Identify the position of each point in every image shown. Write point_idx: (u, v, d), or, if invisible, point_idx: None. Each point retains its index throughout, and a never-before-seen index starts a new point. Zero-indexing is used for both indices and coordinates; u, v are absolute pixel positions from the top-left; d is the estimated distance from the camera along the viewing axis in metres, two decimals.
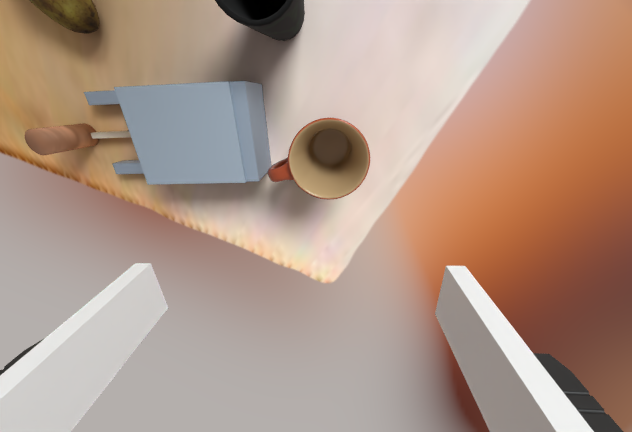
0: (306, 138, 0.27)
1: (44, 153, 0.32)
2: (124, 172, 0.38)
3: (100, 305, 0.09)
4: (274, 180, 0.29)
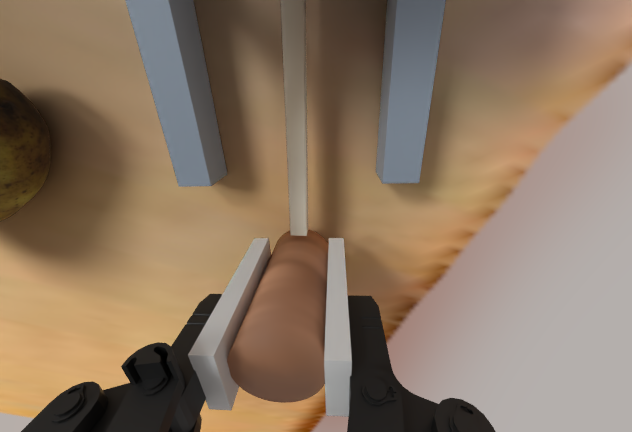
0: None
1: (320, 371, 0.08)
2: (418, 150, 0.10)
3: (251, 268, 0.11)
4: None
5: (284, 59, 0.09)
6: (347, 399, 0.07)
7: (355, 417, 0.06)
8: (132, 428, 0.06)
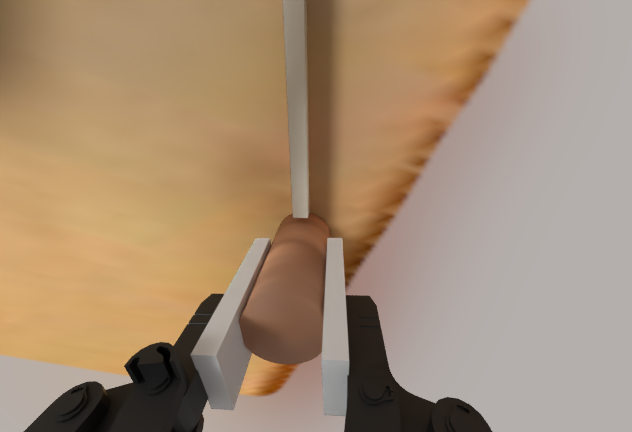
0: None
1: (321, 335, 0.09)
2: None
3: (252, 268, 0.11)
4: None
5: (286, 48, 0.10)
6: (345, 399, 0.07)
7: (352, 416, 0.06)
8: (135, 428, 0.06)
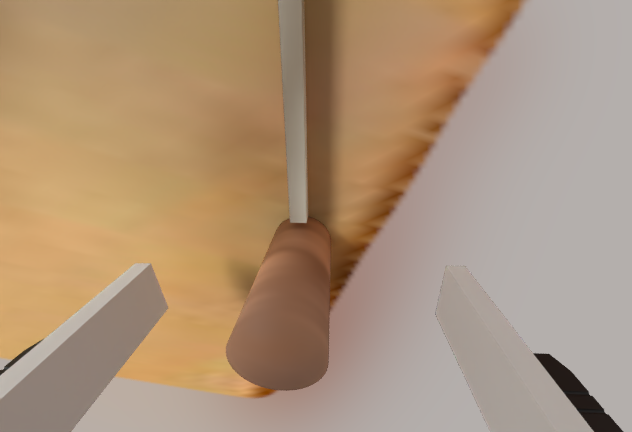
0: None
1: (321, 359, 0.08)
2: None
3: (100, 305, 0.09)
4: None
5: (281, 33, 0.09)
6: None
7: None
8: None
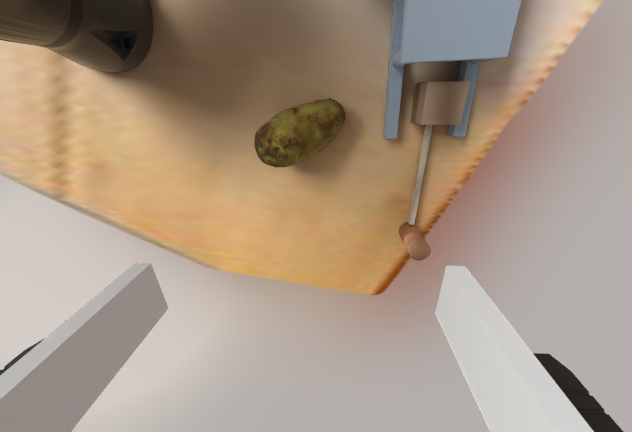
0: None
1: (429, 251, 0.38)
2: (465, 126, 0.35)
3: (100, 305, 0.09)
4: None
5: (417, 183, 0.40)
6: None
7: None
8: None
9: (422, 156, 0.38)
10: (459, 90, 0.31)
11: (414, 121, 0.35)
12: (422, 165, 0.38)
